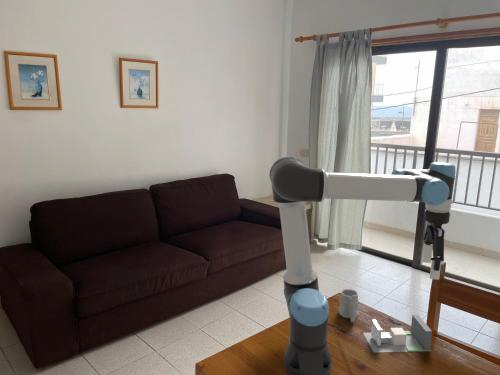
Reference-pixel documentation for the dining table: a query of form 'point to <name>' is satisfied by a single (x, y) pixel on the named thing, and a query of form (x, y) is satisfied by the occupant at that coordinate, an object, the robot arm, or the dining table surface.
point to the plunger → (379, 334)
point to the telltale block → (398, 336)
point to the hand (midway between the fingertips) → (430, 270)
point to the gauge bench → (407, 339)
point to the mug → (349, 304)
